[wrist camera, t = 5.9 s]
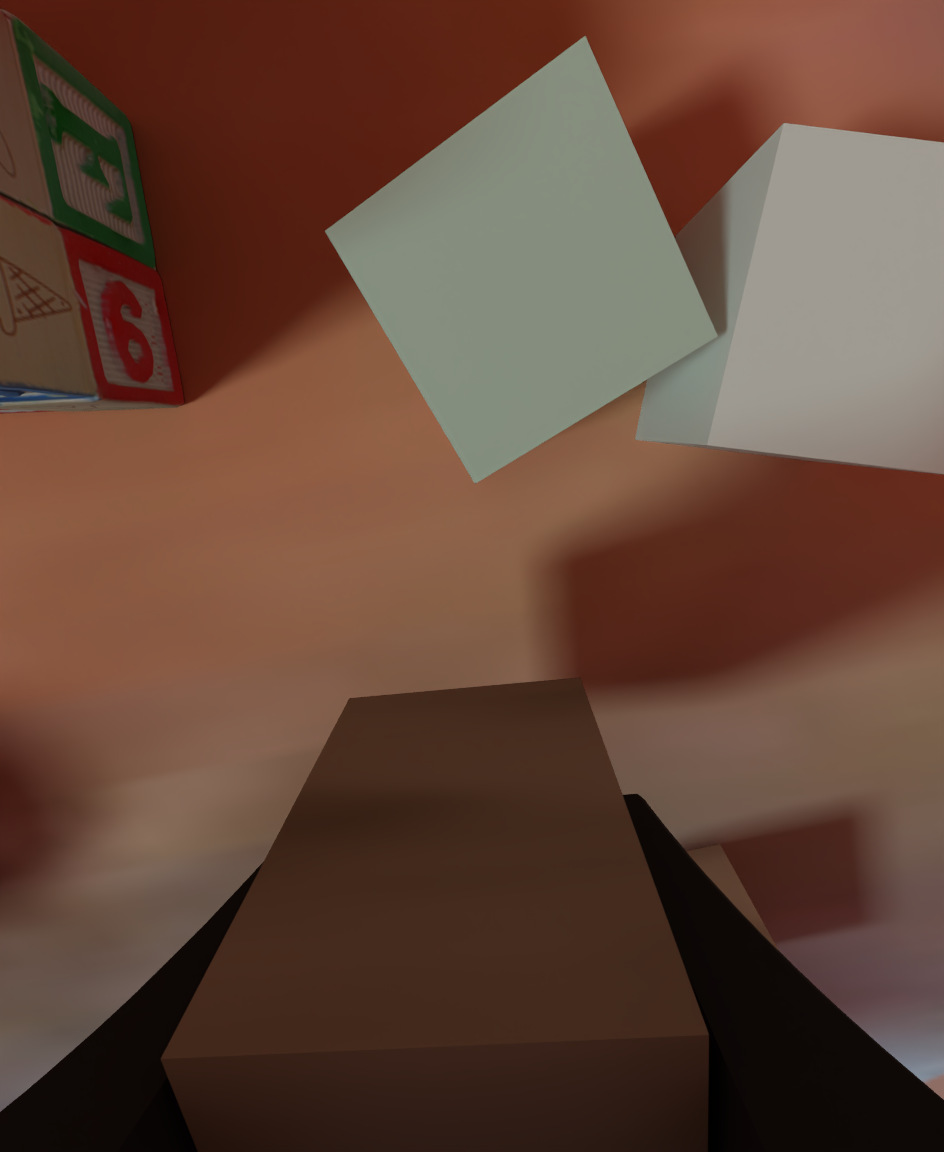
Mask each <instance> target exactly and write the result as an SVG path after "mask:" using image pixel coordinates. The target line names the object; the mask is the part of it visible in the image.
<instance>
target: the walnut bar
mask: <svg viewBox="0 0 944 1152" xmlns="http://www.w3.org/2000/svg"><path fill="white" fill-rule="evenodd" d="M161 1062H162V1064H163V1067H164V1069H165V1072H166V1074H167V1077H168V1079H169V1081H170V1084H171V1086H172V1089H173V1091H174V1094H175V1096H176V1099H177V1101H178V1104H179V1106H180V1109H181V1111H182V1114H183V1116H184V1119H185V1121H186V1124H187V1126H188V1129H189V1131H190V1134H191V1136H192V1139H193V1141H194V1144H195V1146H196V1149H197V1151H198V1152H708V1088H709V1034H708V1031H707V1028H706V1025H705V1022H704V1020H703V1017H702V1014H701V1011H700V1009H699V1006H698V1003H697V1000H696V997H695V995H694V992H693V989H692V986H691V984H690V981H689V978H688V975H687V973H686V970H685V967H684V964H683V961H682V959H681V956H680V953H679V950H678V948H677V945H676V942H675V939H674V936H673V934H672V931H671V928H670V925H669V923H668V920H667V917H666V914H665V912H664V909H663V906H662V903H661V900H660V898H659V895H658V892H657V889H656V887H655V884H654V881H653V878H652V875H651V873H650V870H649V867H648V864H647V862H646V859H645V856H644V853H643V851H642V848H641V845H640V842H639V839H638V837H637V834H636V831H635V828H634V826H633V823H632V820H631V817H630V814H629V812H628V809H627V806H626V803H625V801H624V798H623V795H622V792H621V789H620V787H619V784H618V781H617V778H616V776H615V773H614V770H613V767H612V765H611V762H610V759H609V756H608V753H607V751H606V748H605V745H604V742H603V740H602V737H601V734H600V731H599V728H598V726H597V723H596V720H595V717H594V715H593V712H592V709H591V706H590V704H589V701H588V698H587V695H586V692H585V690H584V687H583V684H582V681H581V679H580V678H570V679H559V680H548V681H537V682H525V683H514V684H503V685H492V686H481V687H470V688H459V689H448V690H437V691H425V692H414V693H403V694H392V695H381V696H370V697H359V698H349V700H348V702H347V704H346V706H345V708H344V710H343V712H342V714H341V715H340V717H339V719H338V721H337V723H336V725H335V727H334V729H333V731H332V733H331V735H330V736H329V738H328V740H327V742H326V744H325V746H324V748H323V750H322V752H321V754H320V756H319V757H318V759H317V761H316V763H315V765H314V767H313V769H312V771H311V773H310V775H309V777H308V778H307V780H306V782H305V784H304V786H303V788H302V790H301V792H300V794H299V796H298V798H297V799H296V801H295V803H294V805H293V807H292V809H291V811H290V813H289V815H288V817H287V819H286V820H285V822H284V824H283V826H282V828H281V830H280V832H279V834H278V836H277V838H276V840H275V841H274V843H273V845H272V847H271V849H270V851H269V853H268V855H267V857H266V859H265V861H264V862H263V864H262V866H261V868H260V870H259V872H258V874H257V876H256V878H255V880H254V882H253V883H252V885H251V887H250V889H249V891H248V893H247V895H246V897H245V899H244V901H243V903H242V904H241V906H240V908H239V910H238V912H237V914H236V916H235V918H234V920H233V922H232V924H231V925H230V927H229V929H228V931H227V933H226V935H225V937H224V939H223V941H222V943H221V945H220V946H219V948H218V950H217V952H216V954H215V956H214V958H213V960H212V962H211V964H210V966H209V967H208V969H207V971H206V973H205V975H204V977H203V979H202V981H201V983H200V985H199V987H198V988H197V990H196V992H195V994H194V996H193V998H192V1000H191V1002H190V1004H189V1006H188V1008H187V1009H186V1011H185V1013H184V1015H183V1017H182V1019H181V1021H180V1023H179V1025H178V1027H177V1029H176V1030H175V1032H174V1034H173V1036H172V1038H171V1040H170V1042H169V1044H168V1046H167V1048H166V1050H165V1051H164V1053H163V1055H162V1057H161Z"/></svg>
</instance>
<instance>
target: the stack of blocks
mask: <svg viewBox="0 0 944 1152" xmlns="http://www.w3.org/2000/svg"><path fill="white" fill-rule="evenodd" d="M183 404H184V396H183V390H182V385H181V379H180V374H179V368H178V362H177V356H176V352H175V348H174V343H173V336H172V331H171V326H170V321H169V316H168V311H167V306H166V301H165V296H164V291H163V285H162V280H161V278H160V276H159V274H158V273H157V271H156V268H155V254H154V248H153V241H152V235H151V230H150V225H149V220H148V214H147V209H146V204H145V199H144V193H143V188H142V182H141V177H140V171H139V166H138V160H137V155H136V149H135V144H134V138H133V133H132V128H131V124H130V122H129V120H128V118H127V116H126V115H125V114H124V113H123V112H122V111H121V110H120V109H119V108H118V107H117V106H115V105H114V104H113V103H112V102H111V101H110V100H109V99H107V98H106V97H105V96H104V95H103V94H102V93H101V92H100V91H99V90H98V89H97V88H96V87H95V86H94V85H92V84H91V83H90V82H89V81H88V80H87V79H86V78H85V77H84V76H83V75H82V74H81V73H80V72H79V71H77V70H76V69H75V68H74V67H73V66H72V65H71V64H70V63H69V62H68V61H67V60H65V59H64V58H63V57H62V56H61V55H60V54H59V53H58V52H56V51H55V50H54V49H53V48H52V47H51V46H50V45H48V44H47V43H46V42H45V41H44V40H42V39H41V38H40V37H39V36H38V35H37V34H36V33H35V32H33V31H32V30H31V29H30V28H29V27H28V26H27V25H26V24H25V23H24V22H23V21H22V20H20V19H19V18H18V17H16V16H14V15H13V14H11V13H9V12H7V11H6V10H4V9H0V413H20V412H47V411H99V410H124V409H149V408H174V407H178V406H181V405H183Z"/></svg>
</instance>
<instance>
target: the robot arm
mask: <svg viewBox="0 0 944 1152" xmlns="http://www.w3.org/2000/svg"><path fill="white" fill-rule="evenodd" d="M623 798H624V801H625V803H626V806H627V809H628V812H629V814H630V817H631V820H632V823H633V826H634V828H635V831H636V834H637V837H638V839H639V842H640V845H641V848H642V851H643V853H644V856H645V859H646V862H647V864H648V867H649V870H650V873H651V875H652V878H653V881H654V884H655V887H656V889H657V892H658V895H659V898H660V900H661V903H662V906H663V909H664V912H665V914H666V917H667V920H668V923H669V925H670V928H671V931H672V934H673V936H674V939H675V942H676V945H677V948H678V950H679V953H680V956H681V959H682V961H683V964H684V967H685V970H686V973H687V975H688V978H689V981H690V984H691V986H692V989H693V992H694V995H695V997H696V1000H697V1003H698V1006H699V1009H700V1011H701V1014H702V1017H703V1020H704V1022H705V1025H706V1028H707V1031H708V1034H709V1088H708V1152H944V1100H943V1099H942V1098H941V1097H940V1096H938V1095H937V1094H936V1093H935V1092H934V1091H933V1090H931V1089H930V1088H929V1087H928V1086H927V1085H926V1084H924V1083H923V1082H922V1081H921V1080H920V1079H919V1078H917V1077H916V1076H915V1075H914V1074H913V1073H912V1072H910V1071H909V1070H908V1069H907V1068H906V1067H905V1066H903V1065H902V1064H901V1063H900V1062H899V1061H898V1060H896V1059H895V1058H894V1057H893V1056H892V1055H891V1054H889V1053H888V1052H887V1051H886V1050H885V1049H884V1048H882V1047H881V1046H880V1045H879V1044H878V1043H877V1042H876V1041H875V1040H873V1039H872V1038H871V1037H870V1036H869V1035H868V1034H867V1033H866V1032H865V1031H863V1030H862V1029H861V1028H860V1027H859V1026H858V1025H857V1024H856V1023H855V1022H853V1021H852V1020H851V1019H850V1018H849V1017H848V1016H847V1015H846V1014H845V1013H843V1012H842V1011H841V1010H840V1009H839V1008H838V1007H837V1006H836V1005H835V1004H834V1003H832V1002H831V1001H830V1000H829V999H828V998H827V997H826V996H825V995H824V994H823V993H822V992H821V991H820V990H819V989H817V988H816V987H815V986H814V985H813V984H812V983H811V982H810V981H809V980H808V979H807V978H806V977H805V976H804V975H803V974H802V973H801V972H800V971H799V970H798V969H797V968H796V967H794V966H793V965H792V964H791V963H790V962H789V961H788V960H787V959H786V958H785V957H784V956H783V955H782V954H781V953H780V952H779V951H778V950H777V949H776V948H775V947H774V946H773V945H772V944H771V943H770V942H769V941H768V940H767V939H766V938H765V937H764V936H763V935H762V934H761V933H760V932H759V931H758V930H757V928H756V927H755V926H754V925H753V924H752V923H751V922H750V921H749V920H748V919H747V918H746V917H745V916H744V915H743V914H742V913H741V912H740V911H739V910H738V909H737V908H736V906H735V905H734V904H733V903H732V902H731V901H730V900H729V899H728V898H727V897H726V896H725V894H724V893H723V892H722V891H721V890H720V889H719V888H718V887H717V886H716V885H715V884H714V882H713V881H712V880H711V879H710V878H709V877H708V876H707V875H706V874H705V873H704V871H703V870H702V869H701V868H700V867H699V866H698V865H697V863H696V862H695V861H694V860H693V859H692V858H691V857H690V855H689V854H688V853H687V852H686V851H685V849H684V848H683V847H682V846H681V845H680V844H679V842H678V841H677V840H676V839H675V838H674V836H673V835H672V834H671V833H670V832H669V830H668V829H667V828H666V827H665V825H664V824H663V823H662V822H661V820H660V819H659V818H658V817H657V815H656V814H655V813H654V811H653V810H652V809H651V808H650V806H649V805H648V804H647V802H646V801H645V800H644V799H643V798H642V797H641V796H640V795H638V794H629V795H623ZM262 864H263V863H262ZM262 864H261V865H260V866H259V867H258V868H257V869H256V871H255V872H254V873H253V874H252V875H251V876H250V877H249V878H248V879H247V880H246V881H245V882H244V883H243V885H242V886H241V887H240V888H239V889H238V890H237V891H236V892H235V893H234V894H233V895H232V896H231V897H230V898H229V899H228V900H227V902H226V903H225V904H224V905H223V906H222V907H221V908H220V909H219V910H218V911H217V912H216V913H215V914H214V915H213V916H212V917H211V919H210V920H209V921H208V922H207V923H206V924H205V925H204V926H203V927H202V928H201V929H200V930H199V931H198V932H197V933H196V934H195V935H194V936H193V937H192V938H191V939H190V940H189V941H188V942H187V943H186V944H185V945H184V946H183V947H182V948H181V949H180V950H179V951H178V952H177V953H176V954H175V955H174V956H173V957H172V958H171V959H170V960H169V961H168V962H167V963H166V964H165V965H164V966H163V967H162V968H161V969H160V970H159V971H158V972H157V973H156V974H155V975H153V976H152V977H151V978H150V979H149V980H148V981H147V982H146V983H145V984H144V985H143V986H142V987H141V988H140V989H139V990H138V991H137V992H136V993H135V994H134V995H133V996H132V997H131V998H130V999H129V1000H128V1001H127V1002H126V1003H125V1004H124V1005H123V1006H121V1007H120V1008H119V1009H118V1010H117V1011H116V1012H115V1013H114V1014H113V1015H112V1016H111V1017H110V1018H108V1019H107V1020H106V1021H105V1022H104V1023H103V1024H102V1025H101V1026H100V1027H99V1028H98V1029H96V1030H95V1031H94V1032H93V1033H92V1034H91V1035H90V1036H89V1037H87V1038H86V1039H85V1040H84V1041H83V1042H82V1043H81V1044H80V1045H78V1046H77V1047H76V1048H75V1049H74V1050H73V1051H72V1052H70V1053H69V1054H68V1055H67V1056H66V1057H65V1058H64V1059H62V1060H61V1061H60V1062H59V1063H58V1064H57V1065H56V1066H55V1067H53V1068H52V1069H51V1070H50V1071H49V1072H48V1073H47V1074H45V1075H44V1076H43V1077H42V1078H41V1079H40V1080H38V1081H37V1082H36V1083H35V1084H34V1085H32V1086H31V1087H30V1088H29V1089H28V1090H27V1091H25V1092H24V1093H23V1094H22V1095H21V1096H19V1097H18V1098H17V1099H16V1100H14V1101H13V1102H12V1103H11V1104H9V1105H8V1106H7V1107H6V1108H5V1109H3V1110H2V1111H1V1112H0V1152H198V1151H197V1149H196V1146H195V1144H194V1141H193V1139H192V1136H191V1134H190V1131H189V1129H188V1126H187V1124H186V1121H185V1119H184V1116H183V1114H182V1111H181V1109H180V1106H179V1104H178V1101H177V1099H176V1096H175V1094H174V1091H173V1089H172V1086H171V1084H170V1081H169V1079H168V1077H167V1074H166V1072H165V1069H164V1067H163V1064H162V1062H161V1057H162V1055H163V1053H164V1051H165V1050H166V1048H167V1046H168V1044H169V1042H170V1040H171V1038H172V1036H173V1034H174V1032H175V1030H176V1029H177V1027H178V1025H179V1023H180V1021H181V1019H182V1017H183V1015H184V1013H185V1011H186V1009H187V1008H188V1006H189V1004H190V1002H191V1000H192V998H193V996H194V994H195V992H196V990H197V988H198V987H199V985H200V983H201V981H202V979H203V977H204V975H205V973H206V971H207V969H208V967H209V966H210V964H211V962H212V960H213V958H214V956H215V954H216V952H217V950H218V948H219V946H220V945H221V943H222V941H223V939H224V937H225V935H226V933H227V931H228V929H229V927H230V925H231V924H232V922H233V920H234V918H235V916H236V914H237V912H238V910H239V908H240V906H241V904H242V903H243V901H244V899H245V897H246V895H247V893H248V891H249V889H250V887H251V885H252V883H253V882H254V880H255V878H256V876H257V874H258V872H259V870H260V868H261V866H262Z"/></svg>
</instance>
